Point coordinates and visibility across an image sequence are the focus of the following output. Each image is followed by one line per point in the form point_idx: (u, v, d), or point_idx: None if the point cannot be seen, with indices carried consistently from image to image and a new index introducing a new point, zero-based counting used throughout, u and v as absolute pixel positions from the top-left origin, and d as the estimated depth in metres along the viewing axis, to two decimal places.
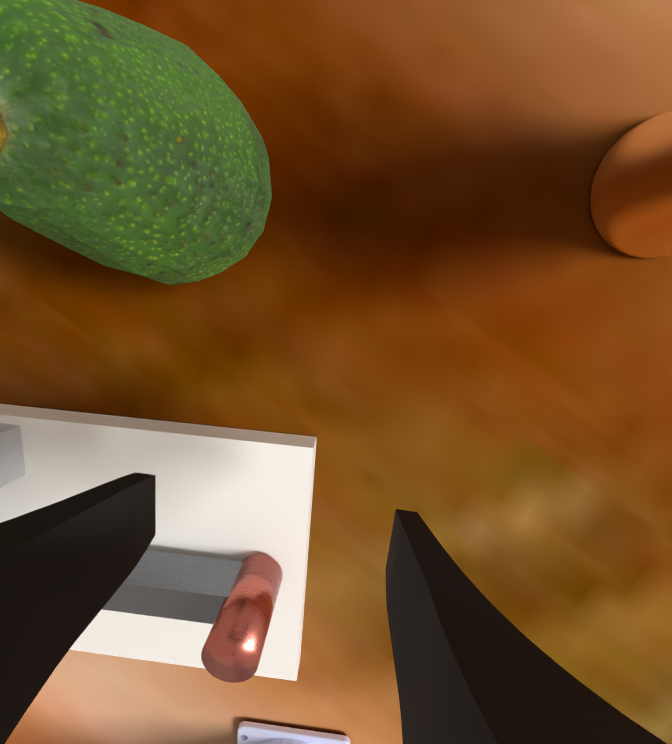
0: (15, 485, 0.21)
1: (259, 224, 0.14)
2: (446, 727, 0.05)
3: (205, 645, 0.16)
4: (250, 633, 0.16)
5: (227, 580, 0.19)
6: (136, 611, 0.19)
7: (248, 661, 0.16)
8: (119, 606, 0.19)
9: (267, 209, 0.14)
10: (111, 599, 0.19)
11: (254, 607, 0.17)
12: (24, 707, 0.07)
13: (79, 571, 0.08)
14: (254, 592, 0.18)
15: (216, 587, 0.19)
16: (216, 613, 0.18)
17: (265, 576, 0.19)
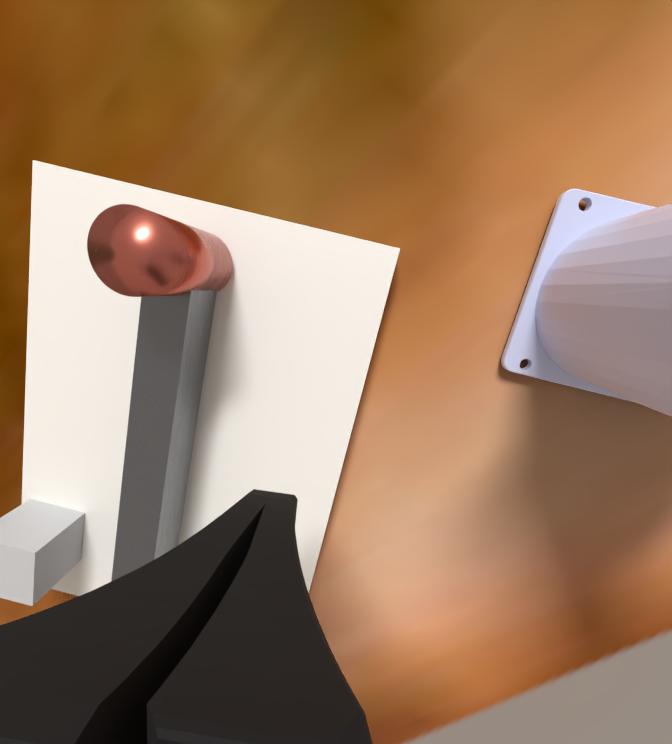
0: (99, 528, 0.19)
1: None
2: None
3: (106, 284, 0.11)
4: None
5: None
6: (170, 412, 0.14)
7: (131, 221, 0.10)
8: (162, 431, 0.14)
9: None
10: (152, 438, 0.14)
11: None
12: None
13: None
14: None
15: None
16: (171, 302, 0.13)
17: None
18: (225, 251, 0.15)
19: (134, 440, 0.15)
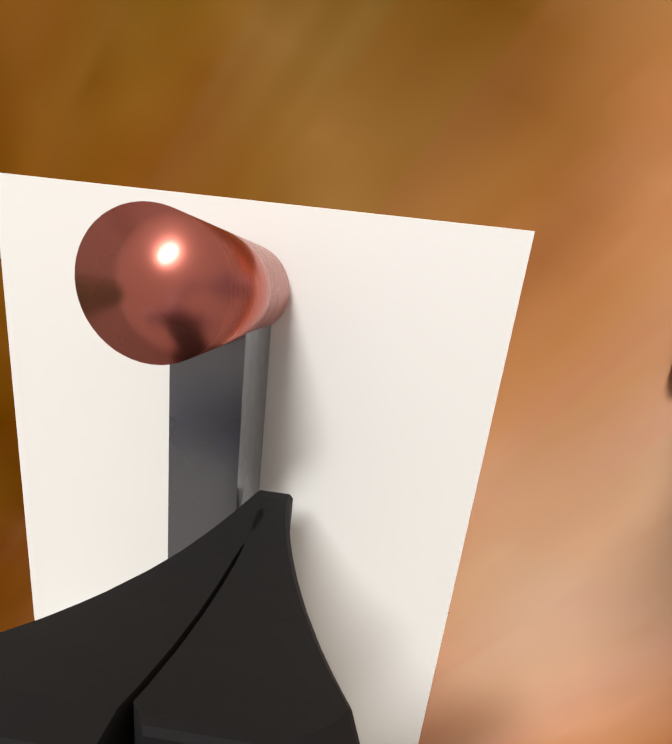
0: None
1: None
2: None
3: (115, 348, 0.06)
4: None
5: None
6: None
7: (148, 232, 0.06)
8: None
9: None
10: None
11: None
12: None
13: None
14: None
15: None
16: (216, 355, 0.08)
17: None
18: (280, 266, 0.10)
19: None
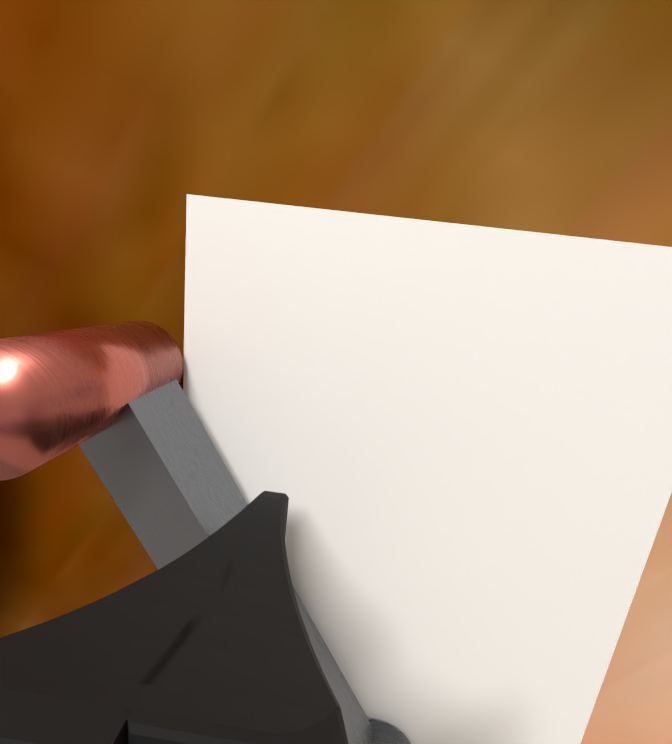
0: None
1: None
2: None
3: None
4: None
5: None
6: None
7: None
8: None
9: None
10: None
11: None
12: None
13: None
14: None
15: None
16: (118, 433, 0.09)
17: None
18: (150, 328, 0.11)
19: None
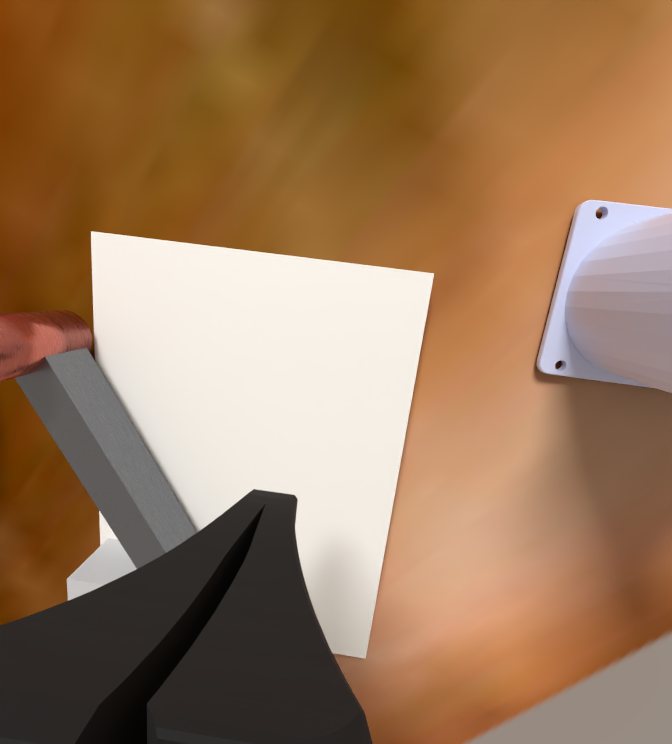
0: None
1: None
2: None
3: None
4: None
5: None
6: (102, 455, 0.16)
7: None
8: (109, 474, 0.16)
9: None
10: (107, 485, 0.16)
11: None
12: None
13: None
14: None
15: None
16: (40, 375, 0.15)
17: None
18: (68, 315, 0.17)
19: (97, 495, 0.16)
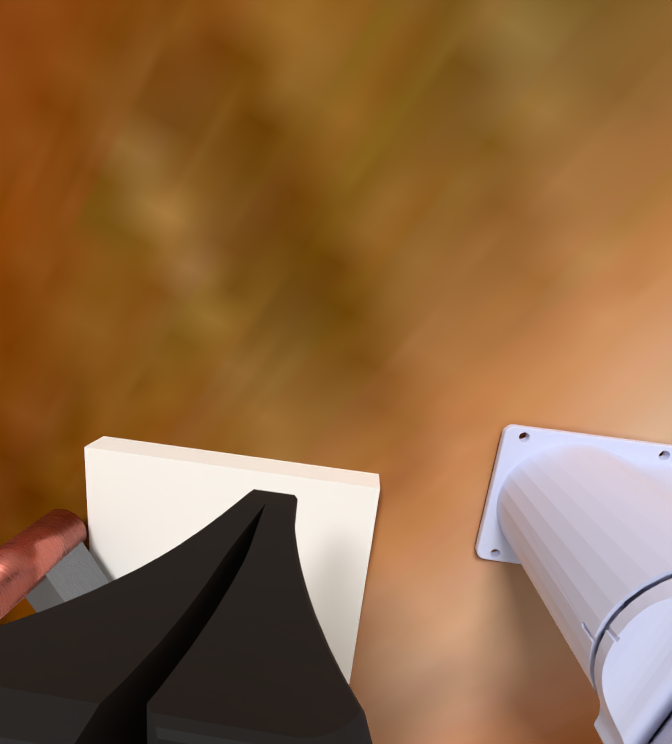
0: None
1: None
2: None
3: None
4: None
5: None
6: None
7: None
8: None
9: None
10: None
11: None
12: None
13: None
14: None
15: None
16: (41, 587, 0.18)
17: None
18: (65, 518, 0.20)
19: None
